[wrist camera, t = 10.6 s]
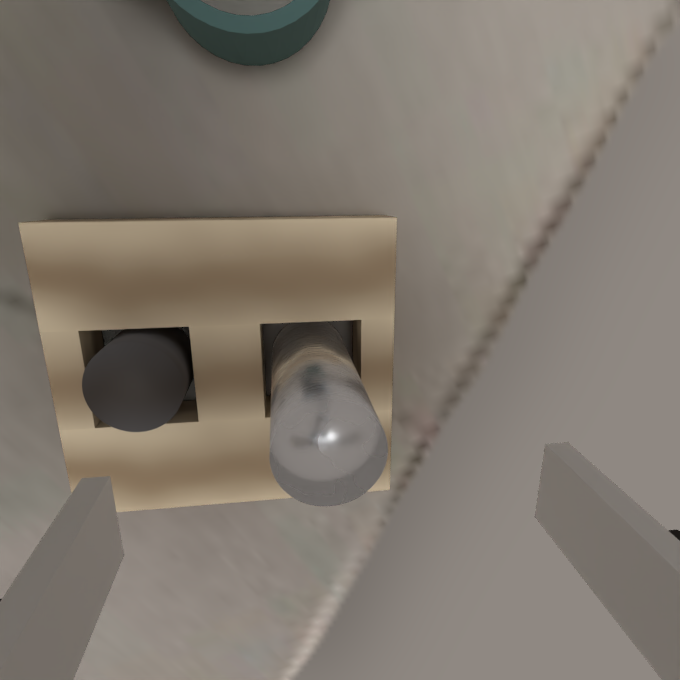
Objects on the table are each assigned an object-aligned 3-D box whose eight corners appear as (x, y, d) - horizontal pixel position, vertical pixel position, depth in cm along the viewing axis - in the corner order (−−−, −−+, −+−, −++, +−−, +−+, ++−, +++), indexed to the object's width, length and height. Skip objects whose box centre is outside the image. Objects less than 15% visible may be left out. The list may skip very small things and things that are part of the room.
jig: (47, 219, 25) (2, 224, 21) (384, 215, 27) (403, 219, 23) (95, 484, 30) (65, 532, 26) (379, 463, 32) (395, 503, 28)
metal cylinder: (270, 319, 28) (266, 403, 17) (344, 316, 29) (389, 396, 17) (273, 388, 29) (272, 510, 18) (344, 384, 30) (386, 501, 19)
